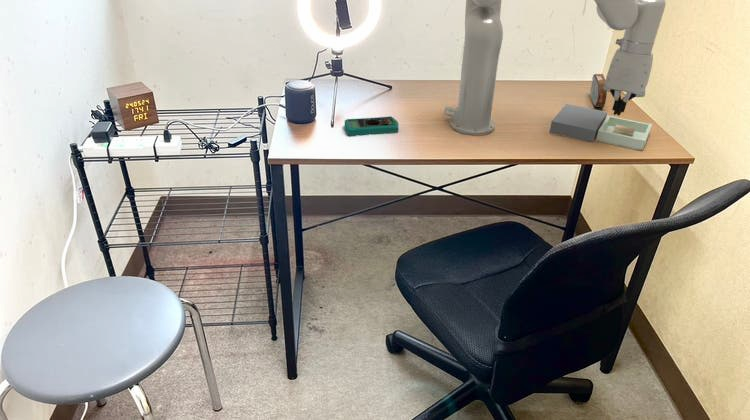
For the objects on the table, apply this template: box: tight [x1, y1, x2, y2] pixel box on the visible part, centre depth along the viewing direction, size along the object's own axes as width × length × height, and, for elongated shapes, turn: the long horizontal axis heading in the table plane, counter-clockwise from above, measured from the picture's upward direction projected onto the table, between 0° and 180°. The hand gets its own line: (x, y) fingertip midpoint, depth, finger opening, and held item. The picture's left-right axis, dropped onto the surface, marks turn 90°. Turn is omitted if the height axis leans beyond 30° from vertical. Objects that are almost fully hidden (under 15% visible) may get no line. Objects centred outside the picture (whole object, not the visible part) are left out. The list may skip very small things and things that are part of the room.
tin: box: [590, 73, 608, 109], centre depth 175 cm, size 15×3×8 cm, turn 168°
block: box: [613, 125, 635, 137], centre depth 154 cm, size 5×5×2 cm
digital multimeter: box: [344, 115, 399, 137], centre depth 156 cm, size 7×15×3 cm, turn 102°
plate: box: [548, 103, 608, 143], centre depth 159 cm, size 12×16×4 cm
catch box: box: [595, 115, 653, 152], centre depth 154 cm, size 12×13×3 cm
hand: (617, 113), depth 152 cm, fingers closed
